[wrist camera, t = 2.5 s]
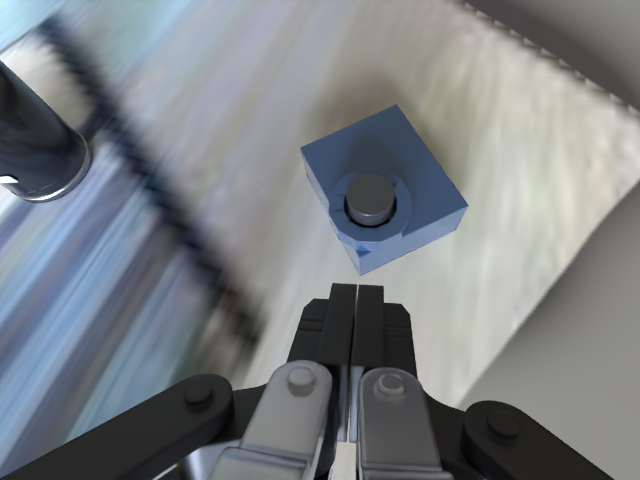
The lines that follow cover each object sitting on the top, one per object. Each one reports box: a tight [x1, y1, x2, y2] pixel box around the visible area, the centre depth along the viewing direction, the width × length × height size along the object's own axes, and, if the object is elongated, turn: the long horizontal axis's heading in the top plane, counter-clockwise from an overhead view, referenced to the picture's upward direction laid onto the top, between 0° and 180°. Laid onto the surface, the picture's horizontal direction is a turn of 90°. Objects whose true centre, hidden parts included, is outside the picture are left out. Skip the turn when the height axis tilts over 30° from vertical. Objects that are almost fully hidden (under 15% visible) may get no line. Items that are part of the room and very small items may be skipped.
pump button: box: [346, 173, 395, 226], centre depth 31 cm, size 4×4×2 cm
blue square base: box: [300, 104, 468, 276], centre depth 36 cm, size 12×11×7 cm
